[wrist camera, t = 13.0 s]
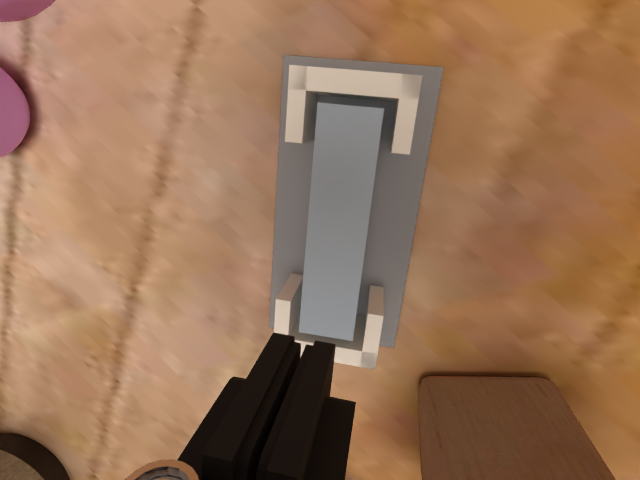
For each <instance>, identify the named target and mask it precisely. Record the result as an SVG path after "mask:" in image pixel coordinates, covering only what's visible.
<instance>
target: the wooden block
mask: <svg viewBox="0 0 640 480" xmlns="http://www.w3.org/2000/svg"><path fill="white" fill-rule="evenodd" d="M418 404H419V430H420V457H421V474H422V480H615V478H614V476H613V475H612V473H611V472H610V470H609V469H608V467H607V465H606V464H605V462H604V461H603V459H602V458H601V456H600V454H599V453H598V451H597V450H596V448H595V447H594V445H593V444H592V442H591V440H590V439H589V437H588V436H587V434H586V433H585V431H584V429H583V428H582V426H581V425H580V423H579V422H578V420H577V418H576V417H575V415H574V414H573V412H572V411H571V409H570V408H569V406H568V404H567V403H566V401H565V400H564V398H563V397H562V395H561V393H560V392H559V390H558V389H557V387H556V386H555V384H554V383H553V382H551V381H550V380H547V379H544V378H541V377H475V376H428V377H425V378H423V379H422V382H421V384H420V386H419V388H418Z"/></svg>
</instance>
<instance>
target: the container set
mask: <svg viewBox="0 0 640 480" xmlns="http://www.w3.org/2000/svg"><path fill="white" fill-rule="evenodd" d="M54 1H55V0H0V22H10V21H20V20H23V19H26V18H29V17H32V16H35V15H37V14H38V13H40V12H41V11H43V10H44V9H46V8H47V7H49V6H50V5H51V4H52V3H53V2H54ZM29 124H30V109H29V105H28V102H27V99H26V97H25V95H24V93H23V92H22V90H21V89H20V88H19V86H18V85H17V84H16V83H15V81H14V80H13V79H12V78H11V77H10V76H9V75H8V74H7V73H6V72H5V71H4V70H3V69H2V68H0V157H2V156H5V155H7V154H8V153H10V152H12V151H13V150H14V149H15V148H16V147H17V146H18V145H19V144H20V143H21V141H22V140H23V138H24V136H25V135H26V132H27V130H28V127H29Z"/></svg>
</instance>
